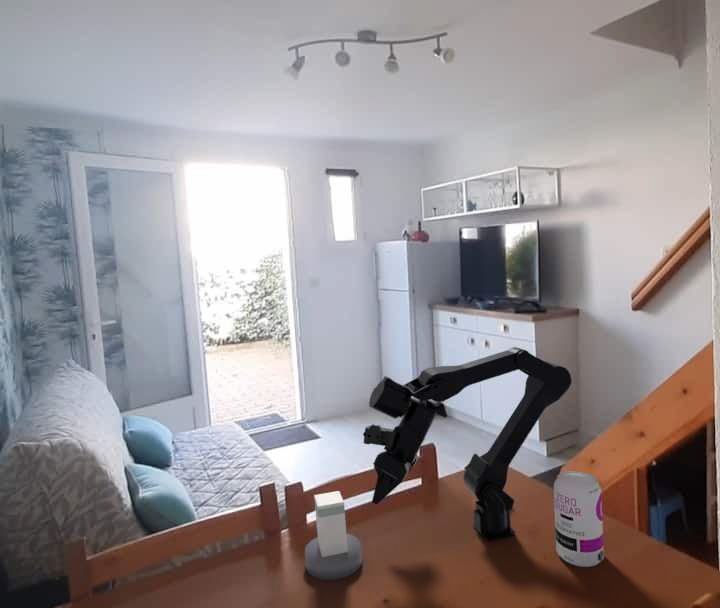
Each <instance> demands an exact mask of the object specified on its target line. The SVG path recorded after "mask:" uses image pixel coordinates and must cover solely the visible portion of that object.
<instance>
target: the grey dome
mask: <svg viewBox="0 0 720 608" xmlns="http://www.w3.org/2000/svg"><path fill="white" fill-rule="evenodd" d="M346 534H347V547H348V552H346V553H341V554H336V555H331V556H326V557H322V555H321V551H320V548H319V544H318V536H317V537H314V538H313V539H312V540H310V541H309V542H308V543H307V545H305V549H304V561H305V568H306V571H307V573H308V574H309V575H310V576H312V577H313V578H316V579H319V580H325V581H333V580H334V581H335V580H340V579H344V578H347V577H349V576H352V575H353V574H355V573H356V572H357V571H358V570H359V569H360V568H361V566H362V563H363V556H362V555H363V554H362V543H361V541H360V540H359V539H358V538H357V537H356V536H354V535H352V534H350V533H346Z"/></svg>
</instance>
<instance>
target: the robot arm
mask: <svg viewBox="0 0 720 608" xmlns="http://www.w3.org/2000/svg"><path fill="white" fill-rule="evenodd" d="M517 370H518V371H520V372H522V373H524V374H525V375H527V378H526V381H525V387H524V388H525V389H524V393H523V394H524V395H523V397H522V398H521V400H520V401H519V403H518V405H517V406H516V407H515V409H514V411H513V412H512V414H511V415H510V417H509V419H508V420H507V422H506V423H505V424H504V427H502V429H501V431H500V433H499V434H498V436H497V437H496V438H495V440H494V442H493V443H492V445H491V447H490V448H489V450H488V451H487V452H486V453H484V454H482V455H481V456H479V455H478V453H474V454H473V455H472V457H471V459H470V461H469V463H468V464H467V465H466V466H465V467H464V468H463V469H464V470H465V471H464V474H463V483H464V485H465V487H466V488H467V489H468V490H469V492H471V493H472V495H473V496H474V497H475V498H476V499H477V500H476V501H475V509H474V510H473V517H474V518H473V519H474V523H473V525H472V526H473V528H474V529H475V530H476V531H477V532H478V533H479V534H480V535H481V536H482V537H483V538H484V539H485V540H486V541H487V542H488V541H493V540H497V539H501V538H502V539H503V538H507V537H511V536H514V535H516V531H515V530H514V529H512V527H511V511H512V510H513V507H514V503H515V499H514V498H513V497H511V495H509V493H507V491H505V490H504V488H505V486H506V484H507V481H508V472H509V466H510V465H511V463H512V461H513V459H514V458H515V457H516V455H517V454H518V452H519V450H520V449H521V447H522V446H523V444H524V443H525V441H526V439H527V438H528V436H529V435H530V433H531V432H532V430H533V429H534V427H535V425H536V424H537V422H538V420H539V419H540V418H541V416H542V414H543V413H544V411H545V410H546V408H549V406H551V405H553V404H554V403H556V402H558V401H559V400H560V399H561V398H562V397H563V396H564V395H565V394H566V392H567V391H568V390H569V389H570V387H571V385H572V383H573V382H572V381H573V380H572V376H571V373H570V372H569V370H568V369H567V368H566V367H564V366H562V365H559V364H556V363H552V362H549V361H547V360H546V361H545V360H543V359H541V358H539V357H537V356H535V355H533V354H531V352H529V351H528V350H526V349H522V348H519V347H517V346H514V347H513V346H512V347H511V348H509V349H506V350H504V351H500V352H497V353H494V354H491V355H488V356H485V357H481V358H478V359H475V360H471V361H468V362H465V363H463V364H458V365H441V366H433V367H426V368H424V369H423V370H422V371H420V374H419V376H418V377H417V376H416V378H414V379H412V380H410V381H408V382H405V383H404V384H401V383H399V382H397V381H395V380H393V379H392V378H391V377H389V376H387V375H385V376H384V377H383V379H382V380H381V381H380V382H378V384H377V385H376V387H374V388H373V389H372V391H371V394H370V398H369V402H368V406H369V408H371V409H374V410H375V411H378V413H379V412H380V413H382V414H384V415H386V416H388V417H390V418H393V419H397V418H401V420H400V422H399V424H397V425H396V426H394V429H393V428H389V427H388V428H387V427H382V426H381V425H380V424H377V425H376V424H371V425H368V426H366V427H365V428H364V432H363V433H362V434H363V444H365V445H376V446H382V447H383V446H384V448H383V450H385V451H381V452H379V453H378V454H377V455H376V457H375V460H374V461H373V463H372V464H373V469H374V470H375V471H376V474H377V477H376V478H377V479H376V484H375V488H374V491H373V495H372V501H371V503H373V504H374V505H376V506H377V505H379V503H381V502H382V501H383V500H384V499H385V498H386V497H387V496H388V495H389V494H390V493H392V491H394V490H395V489H396V488H397V487H398V486H399V485H401V484H402V483H403V481H404V480H405V479H406V476H407V475H408V474H409V473H410V472H411V471H412V469H413V468H414V466H416V464H417V461H418V459H419V455H418V453H419V450H420V448H421V446H422V445H423V443H424V441H425V440H426V436H427V435H428V433H429V431H430V429H431V427H432V424H433V422H434V421H435V418H436V416H437V415H439V416H440V417H442V418H445V419H447V417H448V414H447V412H446V408H445V404H444V403H443V402H445V401H448V400H450V399H451V398H453V397H455V396H457V395H458V394H460V393H461V392H462V391H463V390H464V389H465V388H467V387H469V386H471V385H475V384H477V383H481V382H483V381H487V380H490V379H492V378H493V379H494V378H496V377H499V376H502V375H506V374H509V373H512V372H515V371H517ZM431 400H432V401H431Z"/></svg>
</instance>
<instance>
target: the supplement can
mask: <svg viewBox="0 0 720 608" xmlns="http://www.w3.org/2000/svg"><path fill="white" fill-rule="evenodd" d="M553 499H554V500H553V501H554V523H555V526H554V527H555V546H556V547H555V548H556V552H557V554H558V556H559V557H560V558H561V559H562V560H564V562H567V563H568V564H570V565H573V566H576V567H580V568H581V567H583V568H588V567H589V568H590V567H595V566H597V565H599V564H600V563H601V562H603V560H604V558H605V556H604V529H603V528H604V527H603V502H602V501H603V500H602V499H603V498H602V487H601V486H600V483H599V482H598V479H597V478H596V477H595V476H594V475H591V474H589V473H586V472H583V471H582V472H581V471H564V472H561V473H559V474H558V475H557V476H556V479H555V481H554V483H553Z"/></svg>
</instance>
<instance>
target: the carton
mask: <svg viewBox="0 0 720 608" xmlns="http://www.w3.org/2000/svg"><path fill="white" fill-rule="evenodd" d="M341 494H342V493H341V492H340V490H337V491H331V492H325V493H320V494H314V496H313V497H314V507H315V508H314V509H315V519H316V520H315V521H316V533H317V537H318V544H319V548H320V551H321V555H322V557H326V556H331V555H336V554H341V553H346V552H348V547H347V534H348V533H347V525H346V524H347V523H346V522H347V521H346V511H345V509H346V508H345V501H344V499H343V496H342V495H341Z"/></svg>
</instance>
